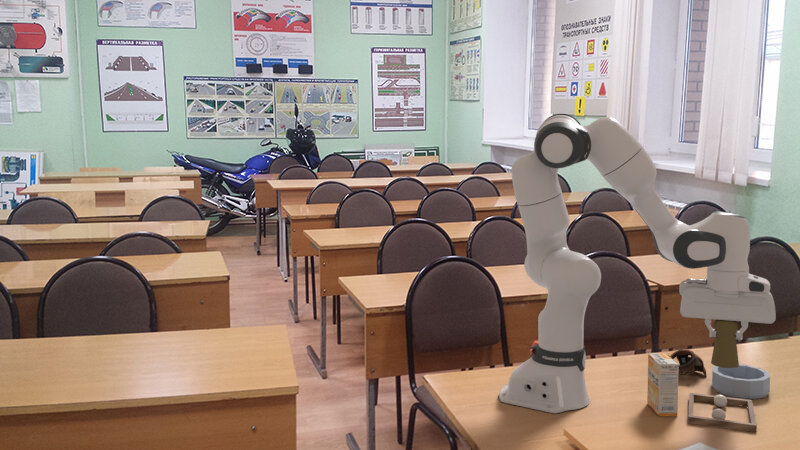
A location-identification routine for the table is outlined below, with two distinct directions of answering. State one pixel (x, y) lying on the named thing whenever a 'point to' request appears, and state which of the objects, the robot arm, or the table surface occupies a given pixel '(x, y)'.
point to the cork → (725, 344)
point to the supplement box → (663, 384)
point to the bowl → (741, 381)
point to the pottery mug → (689, 362)
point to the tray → (720, 422)
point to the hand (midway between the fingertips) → (725, 338)
